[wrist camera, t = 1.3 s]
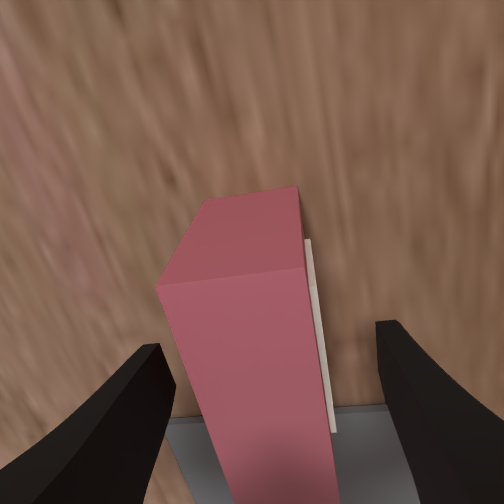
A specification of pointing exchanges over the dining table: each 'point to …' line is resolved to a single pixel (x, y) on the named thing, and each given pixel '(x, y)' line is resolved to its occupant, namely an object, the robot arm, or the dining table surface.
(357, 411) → the mat
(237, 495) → the box
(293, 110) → the dining table surface
